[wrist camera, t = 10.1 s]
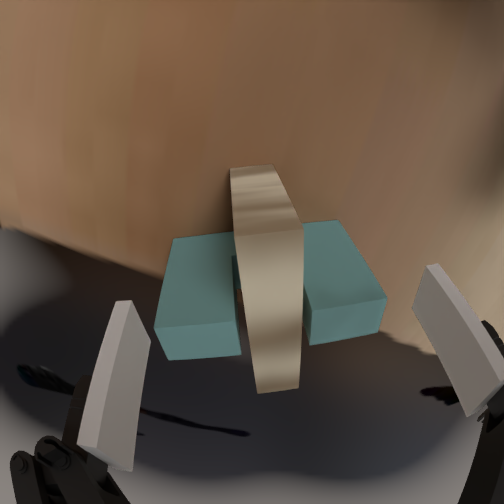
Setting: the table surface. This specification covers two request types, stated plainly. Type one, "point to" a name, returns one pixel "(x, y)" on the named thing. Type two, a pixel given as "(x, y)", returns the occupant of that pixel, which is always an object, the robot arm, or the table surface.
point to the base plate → (228, 280)
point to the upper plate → (269, 274)
